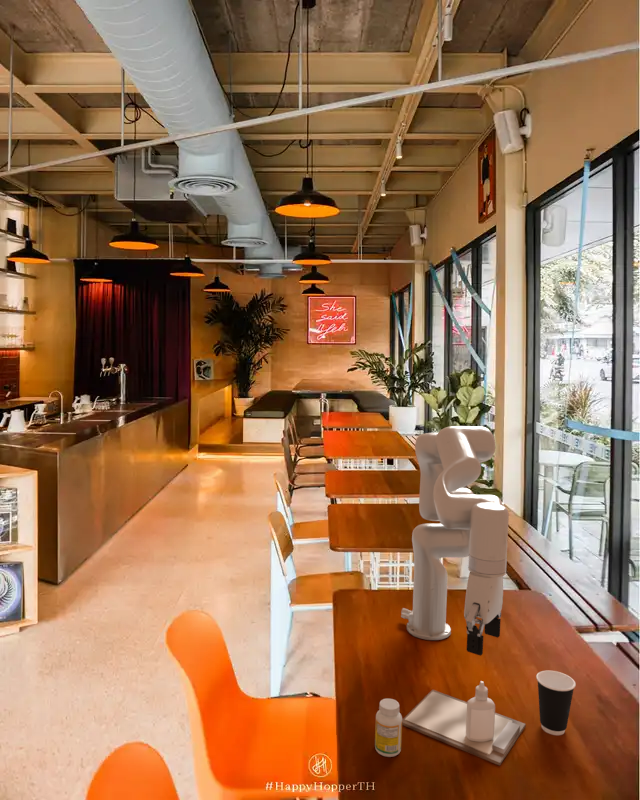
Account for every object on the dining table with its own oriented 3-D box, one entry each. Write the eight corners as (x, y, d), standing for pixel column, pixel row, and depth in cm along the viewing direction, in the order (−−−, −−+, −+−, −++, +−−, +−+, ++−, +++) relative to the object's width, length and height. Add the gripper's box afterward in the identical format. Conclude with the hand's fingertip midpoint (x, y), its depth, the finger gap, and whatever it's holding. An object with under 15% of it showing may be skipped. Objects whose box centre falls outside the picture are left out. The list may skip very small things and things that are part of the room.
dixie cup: (580, 737, 130) (583, 687, 129) (547, 742, 128) (550, 691, 127) (558, 715, 138) (560, 668, 137) (526, 719, 136) (529, 671, 135)
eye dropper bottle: (492, 746, 125) (494, 690, 124) (464, 739, 127) (466, 684, 126) (494, 734, 129) (497, 679, 128) (467, 727, 131) (469, 673, 130)
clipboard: (400, 724, 133) (400, 717, 133) (432, 691, 146) (432, 685, 146) (499, 765, 120) (500, 757, 120) (525, 726, 133) (525, 719, 133)
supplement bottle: (391, 761, 121) (393, 714, 120) (369, 749, 124) (370, 704, 124) (406, 748, 125) (407, 703, 124) (384, 737, 128) (385, 693, 128)
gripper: (485, 549, 135) (481, 624, 137) (452, 571, 121) (449, 654, 123) (519, 556, 131) (515, 634, 132) (489, 580, 117) (485, 666, 118)
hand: (483, 643), depth 127 cm, fingers open, 9 cm apart
